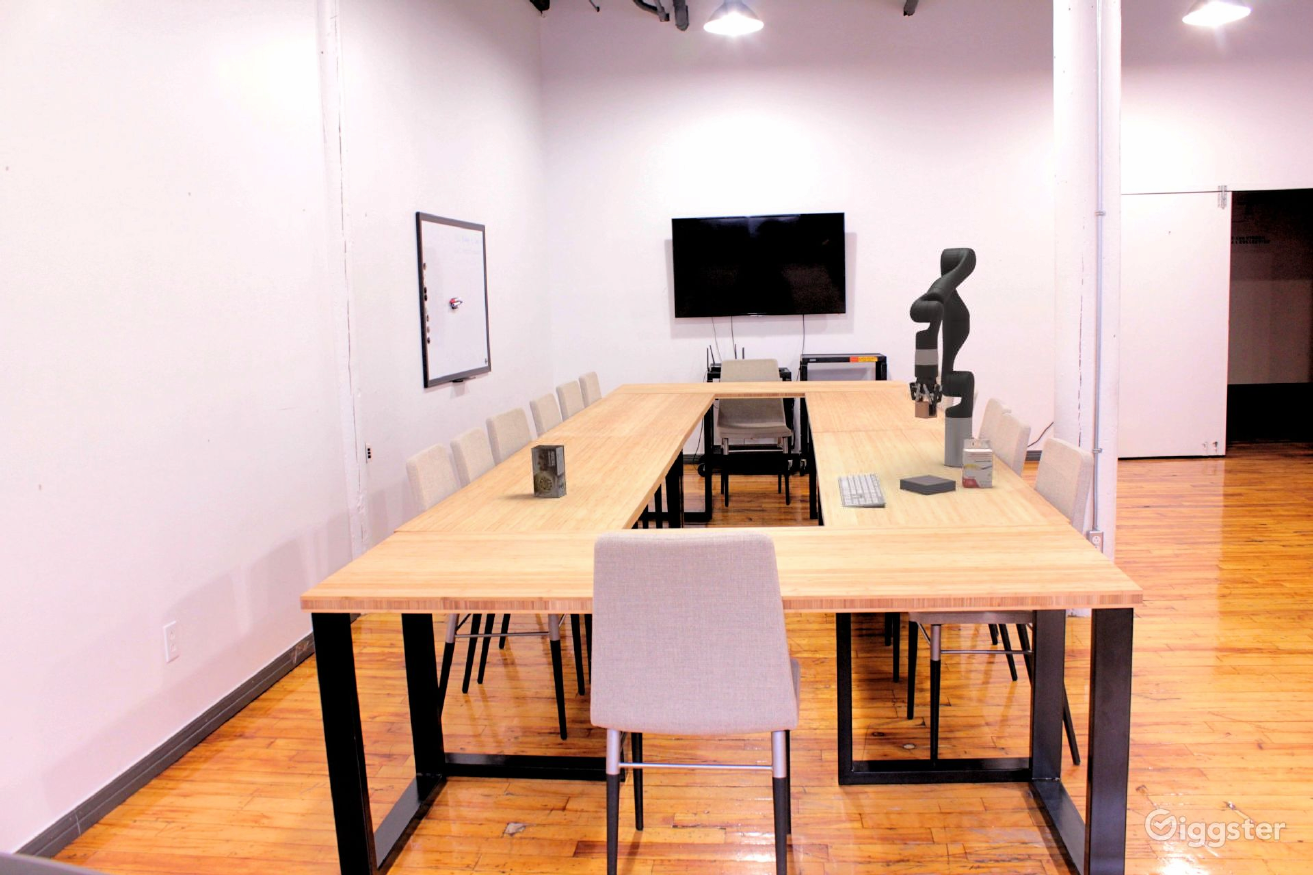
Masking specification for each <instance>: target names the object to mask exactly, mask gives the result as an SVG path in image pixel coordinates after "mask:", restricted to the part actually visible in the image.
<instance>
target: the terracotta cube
mask: <svg viewBox="0 0 1313 875" xmlns="http://www.w3.org/2000/svg"><path fill="white" fill-rule="evenodd" d="M929 405H930V404H929V400H923V401H921V402H914V418H918V419H923V420H924V419H925V420H927V419H935V418H936V419H937V418H938V403H937V404H936V414H935V416H929Z"/></svg>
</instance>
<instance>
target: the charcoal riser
mask: <svg viewBox="0 0 1313 875" xmlns="http://www.w3.org/2000/svg"><path fill="white" fill-rule="evenodd" d="M956 485H957V481H956V480H954V479H949V478H944V477H940V476H936V475H931V474H926V475H920V476H914V477H906V478H900V479H899V489H900V490H904V489H905V491H909V492H913V493H916V492H917V493H916V494H921V495H924V494H925V496H928V495H936V494H940V493H941V492H942V493H947V492H955V491H956V490H957V486H956ZM942 493H941V494H942Z"/></svg>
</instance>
